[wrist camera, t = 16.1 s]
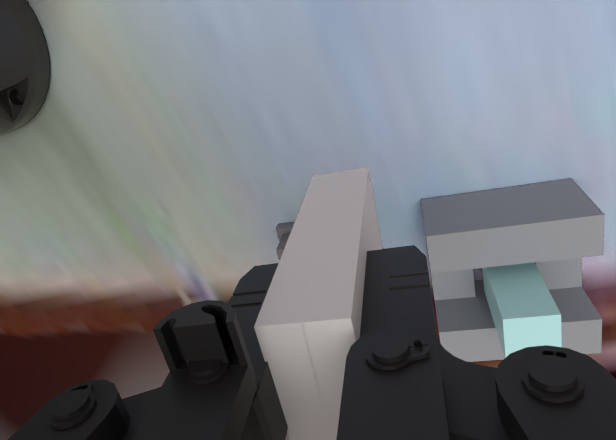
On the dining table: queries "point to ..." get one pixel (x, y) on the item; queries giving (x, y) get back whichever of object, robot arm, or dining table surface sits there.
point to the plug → (521, 307)
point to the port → (512, 259)
